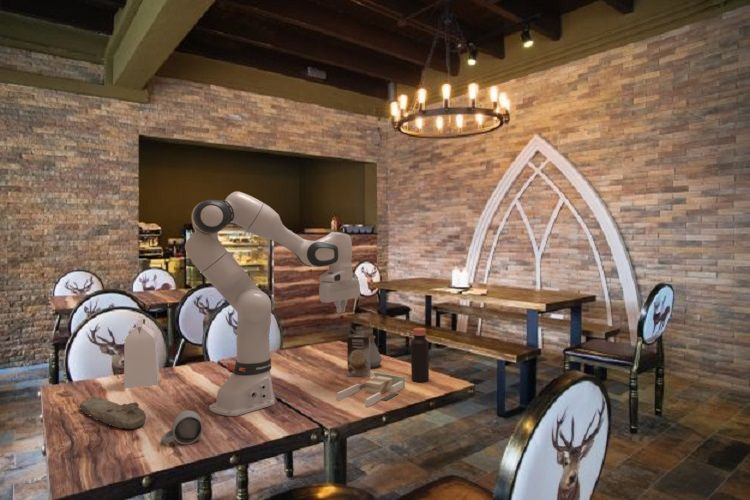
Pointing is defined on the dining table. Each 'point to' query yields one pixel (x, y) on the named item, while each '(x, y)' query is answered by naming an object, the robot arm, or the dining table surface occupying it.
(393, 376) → the box
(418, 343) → the bottle
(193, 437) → the ceramic mug
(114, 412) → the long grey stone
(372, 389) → the maple block
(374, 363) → the coffee pot
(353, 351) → the coffee box
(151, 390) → the dining table surface
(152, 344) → the milk
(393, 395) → the pads
